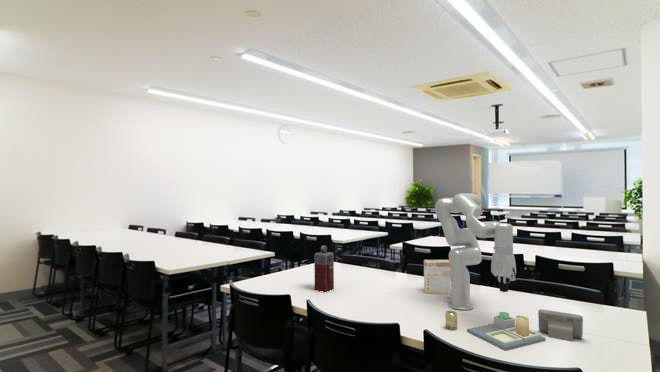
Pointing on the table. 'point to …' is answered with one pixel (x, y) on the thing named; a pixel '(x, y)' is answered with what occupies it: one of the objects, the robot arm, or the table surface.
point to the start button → (504, 315)
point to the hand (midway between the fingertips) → (504, 291)
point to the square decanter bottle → (324, 270)
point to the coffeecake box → (437, 277)
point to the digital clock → (560, 324)
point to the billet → (451, 320)
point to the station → (508, 333)
